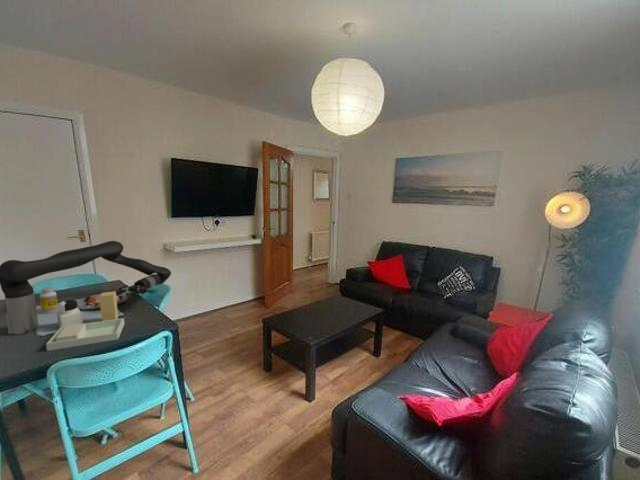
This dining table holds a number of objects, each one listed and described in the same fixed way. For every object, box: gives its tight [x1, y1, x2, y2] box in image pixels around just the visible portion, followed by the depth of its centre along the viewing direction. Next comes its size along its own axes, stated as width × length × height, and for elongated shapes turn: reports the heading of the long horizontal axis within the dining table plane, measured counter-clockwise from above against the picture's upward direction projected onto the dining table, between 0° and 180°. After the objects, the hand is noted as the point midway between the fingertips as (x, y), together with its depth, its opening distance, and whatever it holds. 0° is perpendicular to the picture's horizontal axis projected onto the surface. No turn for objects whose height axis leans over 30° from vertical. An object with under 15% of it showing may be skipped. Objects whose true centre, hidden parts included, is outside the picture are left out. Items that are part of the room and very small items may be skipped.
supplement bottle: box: [39, 286, 59, 314], centre depth 155 cm, size 7×7×13 cm
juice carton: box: [99, 290, 119, 321], centre depth 144 cm, size 6×6×15 cm
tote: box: [45, 317, 126, 352], centre depth 129 cm, size 24×16×4 cm, turn 115°
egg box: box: [56, 322, 86, 342], centre depth 127 cm, size 7×12×4 cm, turn 25°
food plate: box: [77, 290, 129, 310], centre depth 169 cm, size 25×23×4 cm
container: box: [56, 299, 84, 328], centre depth 138 cm, size 8×8×13 cm
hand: (124, 294), depth 154 cm, fingers open, 8 cm apart
